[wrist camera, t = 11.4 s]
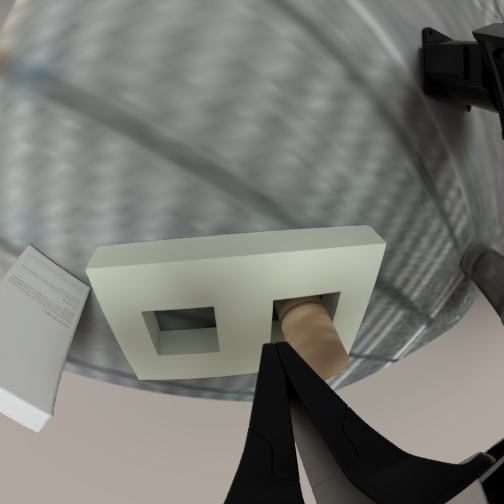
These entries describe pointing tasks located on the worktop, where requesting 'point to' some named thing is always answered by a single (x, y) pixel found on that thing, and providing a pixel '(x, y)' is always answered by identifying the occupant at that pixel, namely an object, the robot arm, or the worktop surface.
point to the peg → (312, 334)
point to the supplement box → (36, 335)
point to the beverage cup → (486, 273)
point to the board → (229, 293)
